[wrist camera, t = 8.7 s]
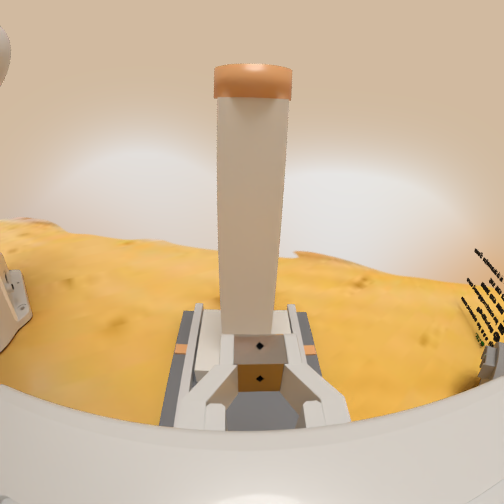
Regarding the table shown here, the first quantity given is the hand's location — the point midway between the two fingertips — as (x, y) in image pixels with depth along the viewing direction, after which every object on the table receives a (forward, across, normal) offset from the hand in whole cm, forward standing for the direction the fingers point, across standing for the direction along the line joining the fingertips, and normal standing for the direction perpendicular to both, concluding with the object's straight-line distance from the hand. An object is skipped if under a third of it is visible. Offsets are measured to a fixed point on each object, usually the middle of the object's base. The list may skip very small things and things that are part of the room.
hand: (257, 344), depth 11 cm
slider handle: (+11, 0, +12) cm, 16 cm away
